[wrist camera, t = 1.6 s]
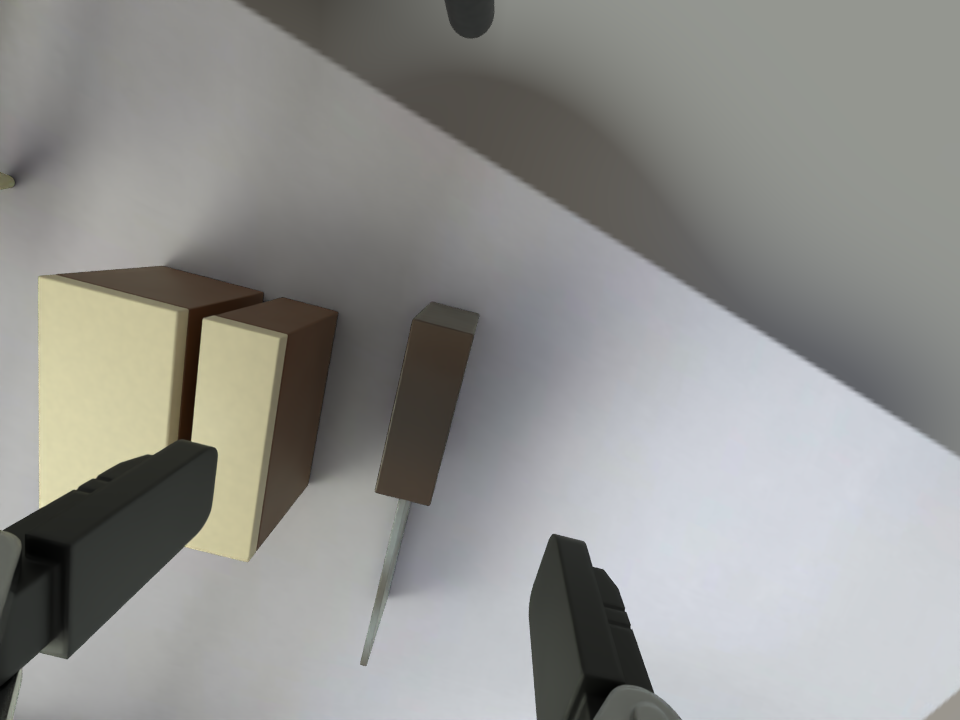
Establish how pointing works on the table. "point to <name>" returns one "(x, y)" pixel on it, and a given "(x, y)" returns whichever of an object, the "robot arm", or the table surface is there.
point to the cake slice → (259, 415)
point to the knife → (420, 425)
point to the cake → (119, 366)
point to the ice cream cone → (6, 181)
